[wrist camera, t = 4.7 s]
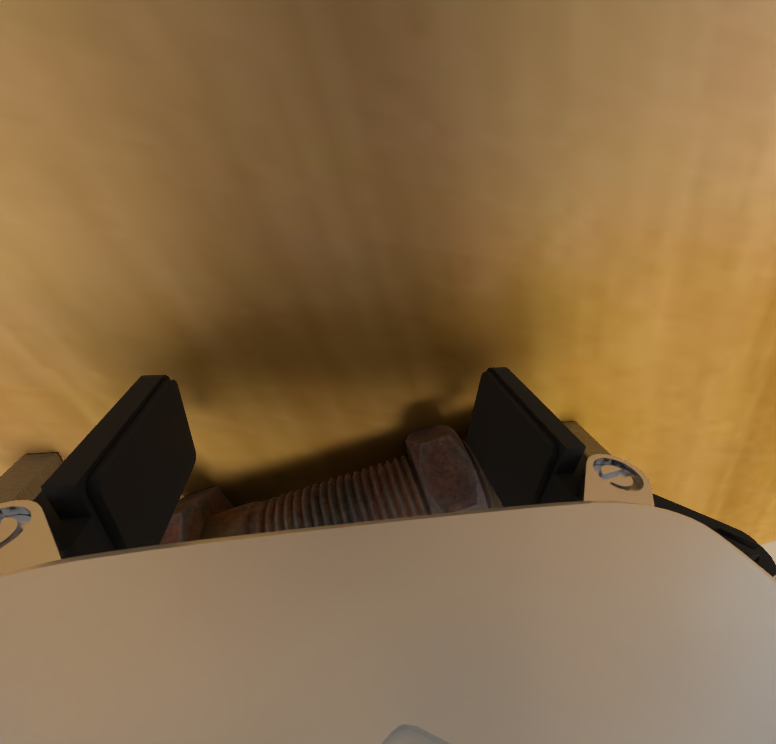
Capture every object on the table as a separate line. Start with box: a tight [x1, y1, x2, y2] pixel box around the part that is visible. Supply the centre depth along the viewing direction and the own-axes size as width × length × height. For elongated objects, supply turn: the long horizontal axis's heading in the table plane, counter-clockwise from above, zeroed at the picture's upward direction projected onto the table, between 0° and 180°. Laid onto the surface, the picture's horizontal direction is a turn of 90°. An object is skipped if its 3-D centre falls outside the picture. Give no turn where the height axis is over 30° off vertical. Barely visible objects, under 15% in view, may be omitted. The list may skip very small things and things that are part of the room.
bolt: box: [159, 425, 503, 545], centre depth 13 cm, size 6×5×15 cm
